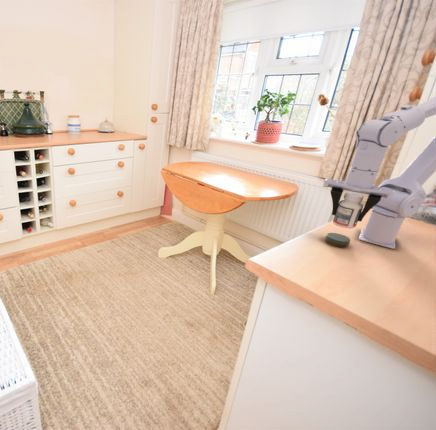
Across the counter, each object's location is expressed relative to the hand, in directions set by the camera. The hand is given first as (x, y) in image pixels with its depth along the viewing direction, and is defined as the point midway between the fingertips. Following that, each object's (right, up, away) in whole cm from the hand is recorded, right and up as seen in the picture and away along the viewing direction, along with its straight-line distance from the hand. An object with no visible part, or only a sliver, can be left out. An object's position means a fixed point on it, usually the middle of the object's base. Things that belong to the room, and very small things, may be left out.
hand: (346, 217), depth 80 cm
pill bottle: (0, -2, +1) cm, 3 cm away
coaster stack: (0, -8, +3) cm, 8 cm away
